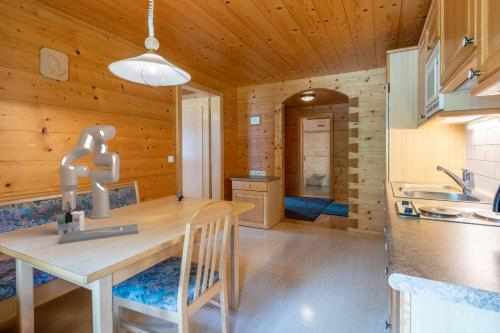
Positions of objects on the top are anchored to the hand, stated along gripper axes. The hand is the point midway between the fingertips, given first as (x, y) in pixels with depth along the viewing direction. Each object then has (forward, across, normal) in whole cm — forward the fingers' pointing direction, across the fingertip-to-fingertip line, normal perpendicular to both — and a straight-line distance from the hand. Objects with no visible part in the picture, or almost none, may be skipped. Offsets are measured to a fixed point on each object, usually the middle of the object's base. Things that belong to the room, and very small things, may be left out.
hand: (70, 220), depth 141 cm
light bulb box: (+7, -1, 0) cm, 7 cm away
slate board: (+7, +11, +15) cm, 20 cm away
